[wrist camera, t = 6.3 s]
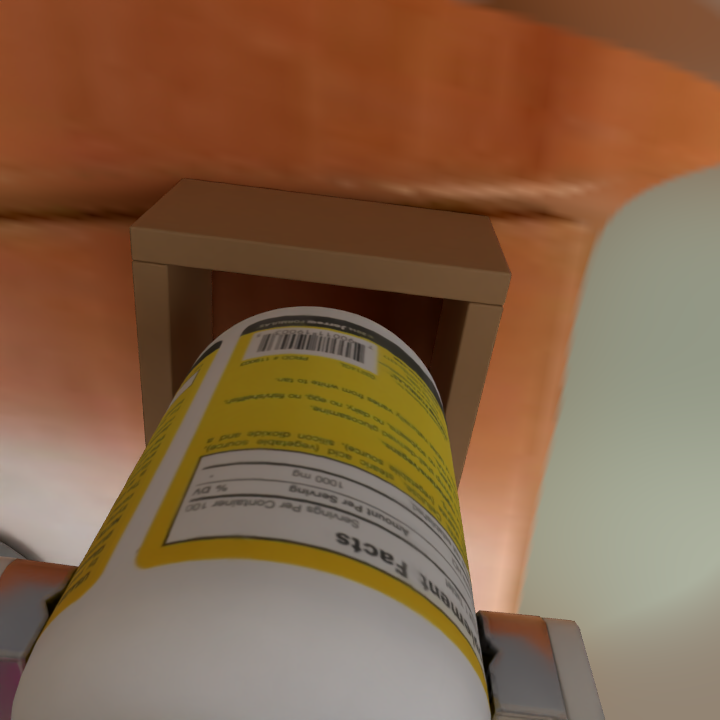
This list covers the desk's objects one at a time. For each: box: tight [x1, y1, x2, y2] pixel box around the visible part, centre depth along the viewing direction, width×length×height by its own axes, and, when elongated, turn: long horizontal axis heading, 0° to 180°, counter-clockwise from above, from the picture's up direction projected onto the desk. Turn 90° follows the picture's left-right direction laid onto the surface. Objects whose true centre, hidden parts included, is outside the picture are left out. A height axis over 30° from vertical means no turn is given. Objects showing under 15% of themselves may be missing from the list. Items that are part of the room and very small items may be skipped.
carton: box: [130, 178, 511, 491], centre depth 18 cm, size 8×8×4 cm
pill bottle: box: [11, 306, 491, 720], centre depth 10 cm, size 6×6×11 cm
